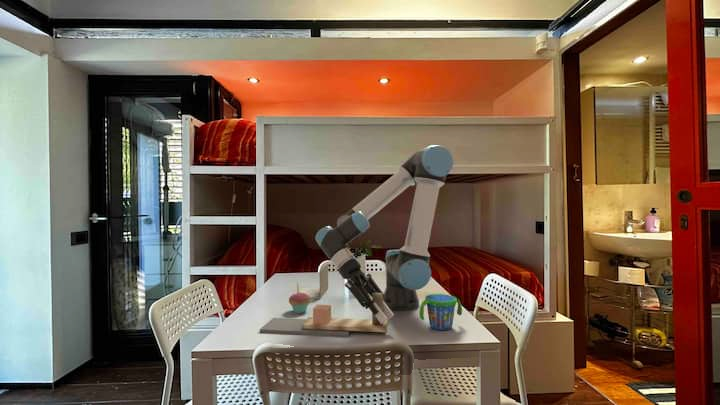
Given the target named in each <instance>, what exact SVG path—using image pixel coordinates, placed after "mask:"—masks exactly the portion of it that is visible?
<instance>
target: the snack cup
mask: <svg viewBox="0 0 720 405" xmlns="http://www.w3.org/2000/svg"><path fill="white" fill-rule="evenodd" d="M456 305H457V309H456V314H457V315H458V316H462V313H463V307H462V303H461V301H460V299H458V298H457V297H456V296H454V295H451V294H443V293H432V294H427V295H426V296H425V299H424V300H423V301H422V302H421V304H420V305H419V314H418V315H419V318H420V320H422V321H424V320H425V317H424V316H425V315H424V314H425V312H424V311H425V308H424V307H425V306H426V307H427V309H426V310H427V318H428V322H429V323H428V324H429V326H430V328H432V329H435V330H438V331H445V330H450V329H452V326H453V325H454V316H455V307H456Z"/></svg>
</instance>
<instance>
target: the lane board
mask: <svg viewBox="0 0 720 405" xmlns="http://www.w3.org/2000/svg"><path fill="white" fill-rule="evenodd" d="M306 319H307V318H305V319H304V318H290V317H289V318H286V317H285V318H284V317H283V318H282V317H273V318H271V319H270V320H269V321H267V322H266V323H265V324H264V325H263V326H261V327H260V328H259V333H265V334H266V333H267V334H286V335H303V336H304V335H305V336H307V335H308V336H326V337H327V336H329V337H343V338H344V337H345V338H346V337H347V338H348V337H349V336H350V334H351V332H352V331H348V330H327V329H306V328H302V324H303V323H304V322H305V321H306Z"/></svg>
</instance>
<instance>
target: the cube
mask: <svg viewBox="0 0 720 405" xmlns="http://www.w3.org/2000/svg"><path fill="white" fill-rule="evenodd" d="M312 317H313V324H328V323H329V322H330V320H331V318H332V304H316V305H315V306H314V307H313V309H312Z"/></svg>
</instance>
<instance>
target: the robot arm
mask: <svg viewBox="0 0 720 405" xmlns="http://www.w3.org/2000/svg"><path fill="white" fill-rule="evenodd" d="M453 167H454V157H453V155H452V153H451V152H450V150H449V149H448V148H446V146H443V145H441V144H439V145H437V144H435V145H433V144H432V145H429V146H427V147H425V148H421V149H419V150H417V151H415V152H414V153H413V154H412V155H411V156H410V157H409V158H408V159H407V160H406V161H405V162H404V163H403V164H401V165H400V166H399V167H398V171H396V172H395V173H394V174H393V175H392V176H391V177H389V178H388V179H387V180H385V181H384V182H383V183H382V184H381V185H380V186H379V187H377V188H375V189H374V190H373V191H372V192H370V193H369V194H368V195H367V196H366V197H365V198H364V199H362V200H361V201H360V202H359V203H357V204H356V205H355V206H353V208H351V209H350V210H349V211H347V213H345V214H342V215H340V217H339V218H338V219H337V223H336V225H337V226H335V227H334V228H333V227H332V226H331V225H328V226H327V225H326V226H324V227H322V228H321V229H319V230H318V232H316V235H315V241H316V243H317V244H318V246H319V247H320V249H321V250H322V251H323V253H324V254H325V255H326V257H327V258H328V259H329V261H330V262H331V263H332V264H333V266H334V267H335V269H336V270H337V271H338V274H340V276H341V277H342V279H343V280H346V282H345V283H344V286H345V288H347V289H348V290H349V291H350V293H351V294H352V295H353V297H354V298H355V299H356V300H357V301H358V303H359V305H360V306H362V308H365V309H366V310H368V309H369V310H370V311H371V314H372V313H373V314H374V315H375V316H376V318H377V319H378V320H379V322H380V323H381V324H382V323H383V322H384V321H386V320H388V321H390V319H391V318H392V317H394V315H395V314H394V313H393V311H410V310H411V311H412V310H415V309H418V308H420V300H419V297H418V293H417V291H418V290H421V289H423V288H424V287H426V286H427V285H428V284H429V282H430V280H431V277H432V270H431V266H430V265H429V264H430V260H431V254H430V252H429V251H428V247H429V243H430V239H431V238H430V237H431V233H432V232H431V231H432V227H433V222H434V218H435V214H436V207H437V203H438V199H439V198H438V197H439V192H440V189H441V187H443V186H444V185H445V183H446V178H447V175H448V174H449V173H450V172H451V171H452V170H453ZM410 186H415V192H414V197H413V201H412V202H413V203H412V207H411V212H410V217H409V221H408V227H407V232H406V237H405V240H404V241H405V243H404V245H403V246H402V247H401V248H399V249H389V250H387V251H386V253H385V283H386V286H385V289H384V292H383V291H382V290H381V289H380V287H379V285H378V284H377V282H376V281H375V280H374V279H373V277H372V275H371V273H367V274H365V272H363V271H362V270H361V268H362V265H361V264H360V262H359V261H358V260H357V259H356V258H355V256H354V255H353V253H352V252H351V250H350V249H348V247H347V245H348V244H350V243H351V242H352V241H353V240H355V239H356V238H357V237H359V236H360V235H362V234H363V233H365V232H366V231H367V230H368V229H369V228H370V226H371V225H370V224H371V223H370V222H369V220H370V218H372V217H374V215H376V214H377V213H378V212H380V211H381V210H383V208H384V207H386V206H387V205H388V204H389V203H391V202H392V201H393V200H394V199H396V197H398V196H399V195H400V194H402V193H403V192H404V191H405V190H406V189H408V188H409V187H410ZM373 293H382V294H383V312H382V311H381V309H380V308H379V307H378V305H377V304H376V303H373V301H372V294H373ZM392 310H393V311H392Z"/></svg>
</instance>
